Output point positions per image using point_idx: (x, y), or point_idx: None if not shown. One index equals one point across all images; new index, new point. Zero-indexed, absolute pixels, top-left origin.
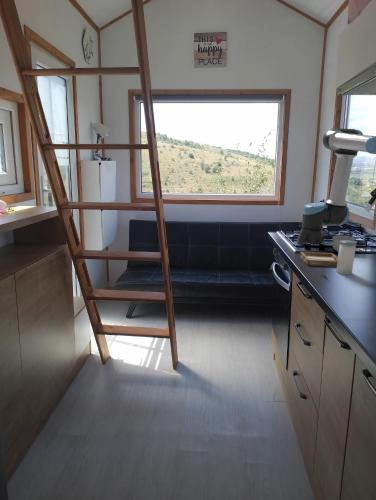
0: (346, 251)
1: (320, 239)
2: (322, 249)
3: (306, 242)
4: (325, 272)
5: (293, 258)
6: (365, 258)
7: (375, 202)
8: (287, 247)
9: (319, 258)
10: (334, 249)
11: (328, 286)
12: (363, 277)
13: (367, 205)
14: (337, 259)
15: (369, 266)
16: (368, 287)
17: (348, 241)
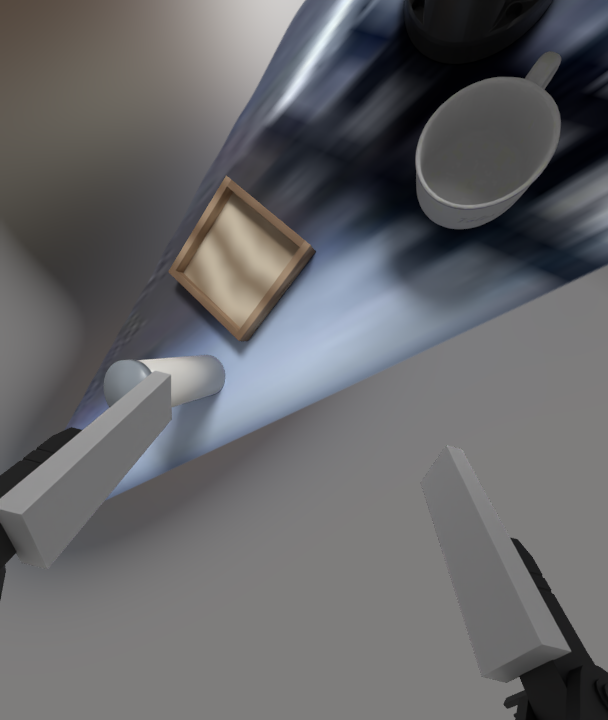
0: None
1: (478, 17)
2: (415, 122)
3: (408, 13)
4: (171, 345)
5: (202, 196)
6: (433, 321)
7: (79, 519)
8: (305, 39)
9: (247, 251)
10: (428, 169)
11: (107, 408)
12: (213, 428)
13: (120, 405)
14: (253, 311)
15: (329, 388)
16: (162, 466)
17: (131, 388)
